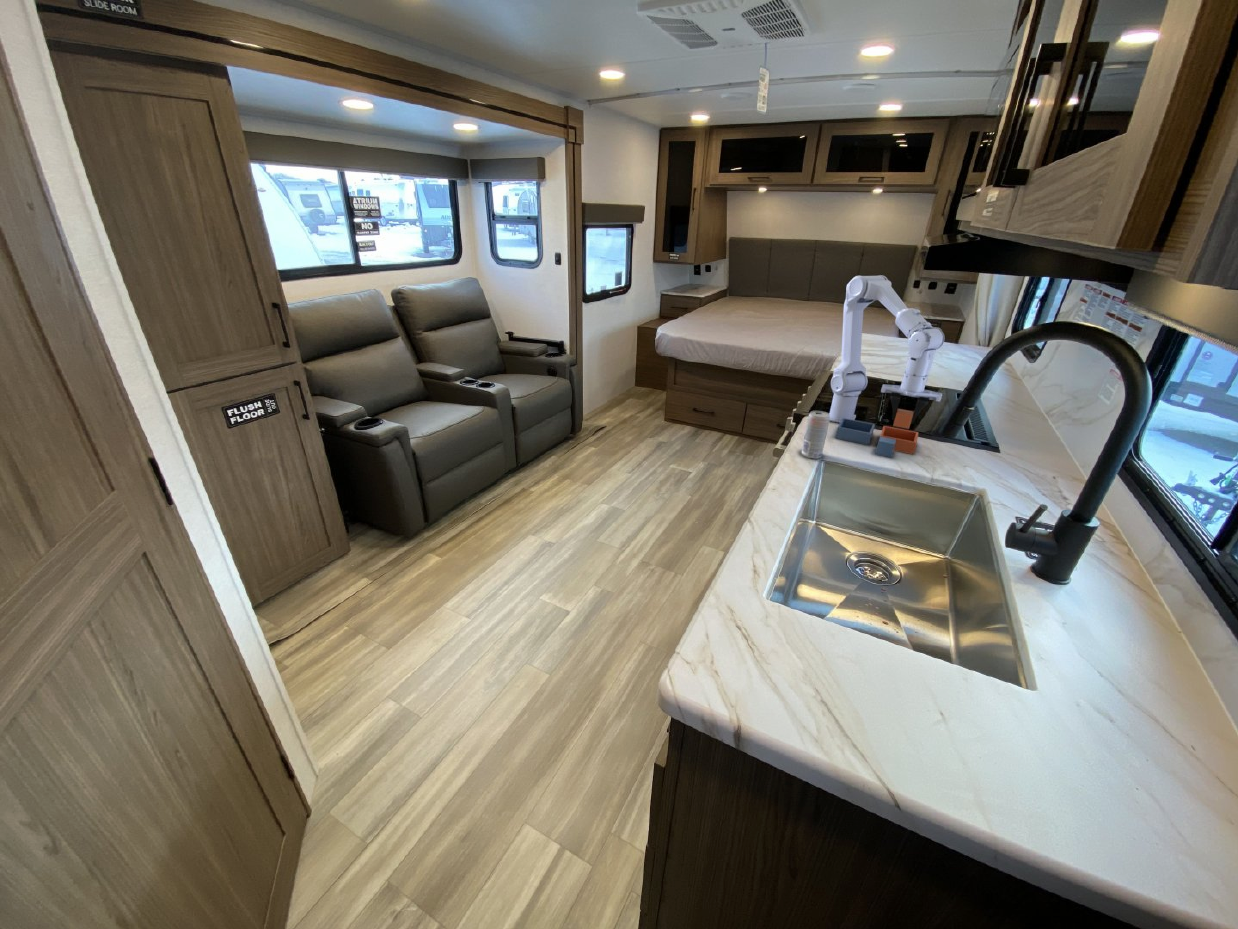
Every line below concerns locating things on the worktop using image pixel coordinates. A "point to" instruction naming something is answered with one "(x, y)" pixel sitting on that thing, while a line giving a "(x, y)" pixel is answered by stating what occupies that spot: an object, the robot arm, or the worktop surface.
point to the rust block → (903, 418)
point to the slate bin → (855, 431)
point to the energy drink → (815, 434)
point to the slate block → (885, 446)
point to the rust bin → (901, 438)
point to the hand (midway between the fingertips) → (902, 420)
